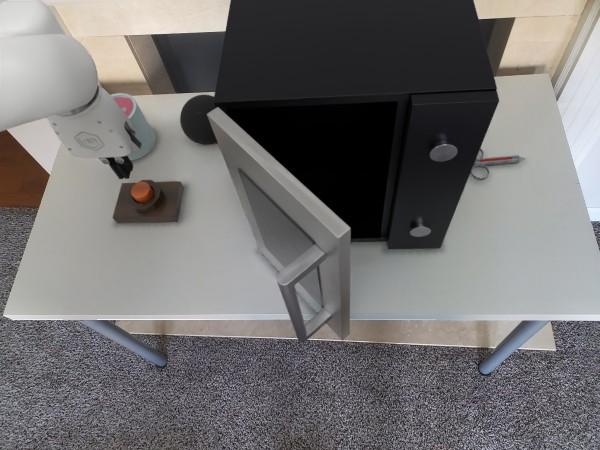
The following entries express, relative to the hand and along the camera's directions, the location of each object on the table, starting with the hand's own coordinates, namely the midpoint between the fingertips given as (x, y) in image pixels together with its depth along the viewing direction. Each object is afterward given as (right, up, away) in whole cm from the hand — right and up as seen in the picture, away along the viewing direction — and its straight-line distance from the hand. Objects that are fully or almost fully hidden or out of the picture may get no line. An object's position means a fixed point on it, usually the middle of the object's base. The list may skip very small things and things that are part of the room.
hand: (126, 172), depth 77 cm
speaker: (+12, +10, +18) cm, 23 cm away
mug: (-7, +9, +19) cm, 23 cm away
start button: (+1, -4, +7) cm, 8 cm away
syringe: (+65, +2, +7) cm, 66 cm away
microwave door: (+28, -22, -3) cm, 36 cm away
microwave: (+39, -1, +8) cm, 40 cm away
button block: (+1, -5, +10) cm, 11 cm away
